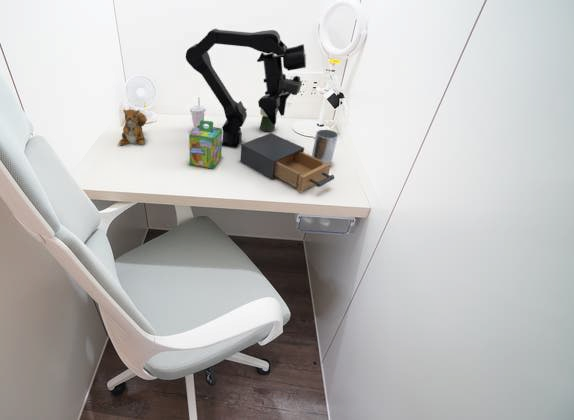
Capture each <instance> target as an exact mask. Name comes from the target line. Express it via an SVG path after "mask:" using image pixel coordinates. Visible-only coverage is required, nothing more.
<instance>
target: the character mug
mask: <svg viewBox="0 0 574 420" xmlns="http://www.w3.org/2000/svg"><path fill="white" fill-rule="evenodd" d="M259 114H260V115H261V120H260V125H259V130H262V131H265V132H274V131H275V130H276V124H272V122H271V121H270V119H269V118H268V116H267V115H266V113H265V112H264V111H263V109H261V108H260V111H259ZM278 114H279V110H278V108H277V112H276V116H278Z"/></svg>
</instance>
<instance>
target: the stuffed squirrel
mask: <svg viewBox="0 0 574 420" xmlns="http://www.w3.org/2000/svg"><path fill="white" fill-rule="evenodd" d="M122 111H123V114H124V120H123V122H122V123H123V124H124V126H123V127H122V131H123V132H122V133H121V138H122V139H120V140H119V142H118V145H119V146H125V145H127V144H137V145H141V146H143V145H145V143H146V137H145V135H144V132H143V126H145V124H146V123H147V122H148V118H147V117H146V115H145V114H144V113H143V112H141V110H140V109H138V110H135V109H125V108H124V109H122Z"/></svg>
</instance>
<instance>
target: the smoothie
mask: <svg viewBox="0 0 574 420" xmlns="http://www.w3.org/2000/svg"><path fill="white" fill-rule="evenodd" d="M200 100H201V99H200V97H197V101H198V103H197V104H198V105H193V106H191V107H190V108H189V111H190V113H191V120H192V125H193V130H194V129H195V128H196V127H197V126H198V125H200V121H201V120H203V121H205V116H206V115H205V114H206V113H205V112H206V111H207V109H206V107H205V106H204V105H201V101H200Z"/></svg>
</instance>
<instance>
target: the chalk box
mask: <svg viewBox="0 0 574 420" xmlns="http://www.w3.org/2000/svg"><path fill="white" fill-rule="evenodd" d="M188 137H189V138H188V144H189V145H188V147H189V165H191V166H197V167H202V168H207V169H211V170H213V169H214V168H215V167H216V166H217V165H218V164H219V161H220V160H221V158H222V150H223V149H222V146H223V145H222V142H223V129H222V127H215V126H214V122H213V121H212V120H204V121H203V120H201V121H200V125H198V126H197V127H196V128H195V129H194V128H193V130H192V131H191V133H190V134H188Z"/></svg>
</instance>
